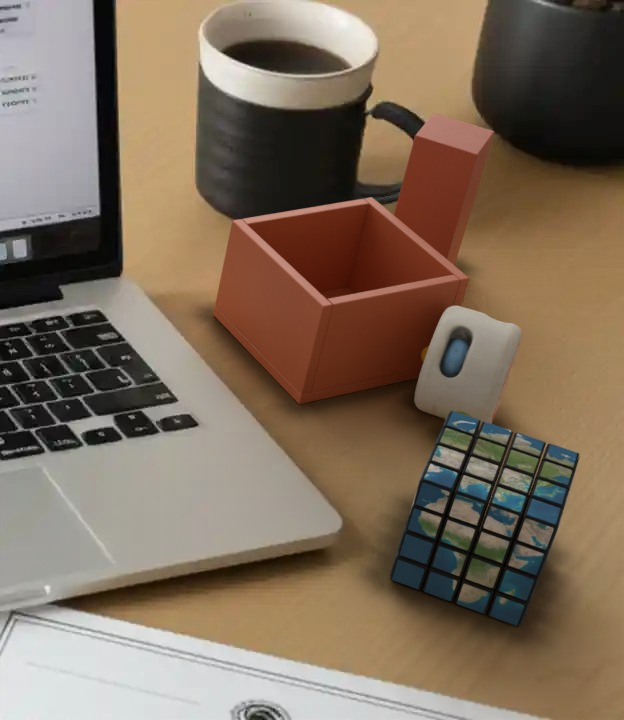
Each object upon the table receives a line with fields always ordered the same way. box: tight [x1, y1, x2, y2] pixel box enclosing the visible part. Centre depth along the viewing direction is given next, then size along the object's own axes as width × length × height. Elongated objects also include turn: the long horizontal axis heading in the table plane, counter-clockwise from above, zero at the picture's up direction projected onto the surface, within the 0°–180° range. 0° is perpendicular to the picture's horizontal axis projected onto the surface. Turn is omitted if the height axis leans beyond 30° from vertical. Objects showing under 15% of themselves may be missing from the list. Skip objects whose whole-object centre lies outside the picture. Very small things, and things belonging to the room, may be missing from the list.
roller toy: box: [413, 305, 523, 431], centre depth 85 cm, size 4×6×6 cm
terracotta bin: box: [212, 196, 470, 405], centre depth 89 cm, size 9×9×6 cm
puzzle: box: [389, 411, 581, 627], centre depth 75 cm, size 6×6×6 cm
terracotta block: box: [393, 112, 495, 267], centre depth 96 cm, size 4×4×9 cm
